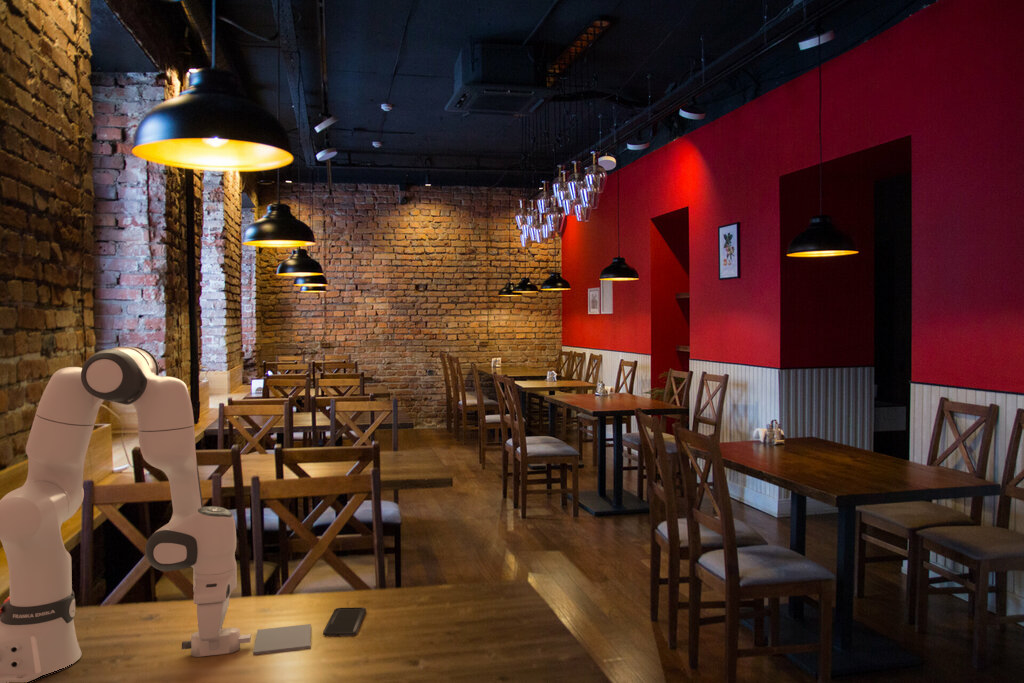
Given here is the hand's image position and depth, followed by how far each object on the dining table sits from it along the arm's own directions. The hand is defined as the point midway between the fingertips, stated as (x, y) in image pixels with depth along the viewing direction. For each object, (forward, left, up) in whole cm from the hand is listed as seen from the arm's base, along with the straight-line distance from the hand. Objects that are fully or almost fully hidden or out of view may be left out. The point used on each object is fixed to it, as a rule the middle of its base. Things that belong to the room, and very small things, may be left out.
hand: (215, 643), depth 158 cm
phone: (+28, +8, -2) cm, 29 cm away
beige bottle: (0, 0, -2) cm, 2 cm away
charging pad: (+14, +2, -2) cm, 14 cm away
